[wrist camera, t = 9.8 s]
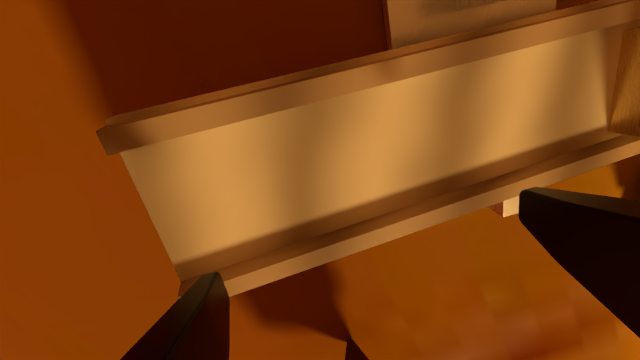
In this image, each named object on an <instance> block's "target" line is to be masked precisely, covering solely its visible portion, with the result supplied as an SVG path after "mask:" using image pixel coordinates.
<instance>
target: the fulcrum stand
mask: <svg viewBox="0 0 640 360" xmlns="http://www.w3.org/2000/svg"><path fill="white" fill-rule="evenodd" d="M556 2H557V0H382V7H383V16H384V25H385V34H386V43H387V51H388V50H392V49H396V48H401V47H405V46H409V45H413V44H417V43H422V42H426V41H430V40H434V39H438V38H443V37H447V36H451V35H455V34H460V33H464V32H468V31H472V30H476V29H481V28H485V27H489V26H493V25H497V24H502V23H506V22H510V21H514V20H519V19H523V18H527V17H531V16H535V15H540V14H544V13H548V12H552V11H556ZM488 207H489V208H490V209H492V210H493V211H495V212H496V213H498V214H499V215H500V216H502V217H506V216H509V215H513V214H516V213H518V211H519V196H517V197H514V198H511V199H508V200H505V201H503V202H500V203H497V204H494V205H491V206H488Z"/></svg>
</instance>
